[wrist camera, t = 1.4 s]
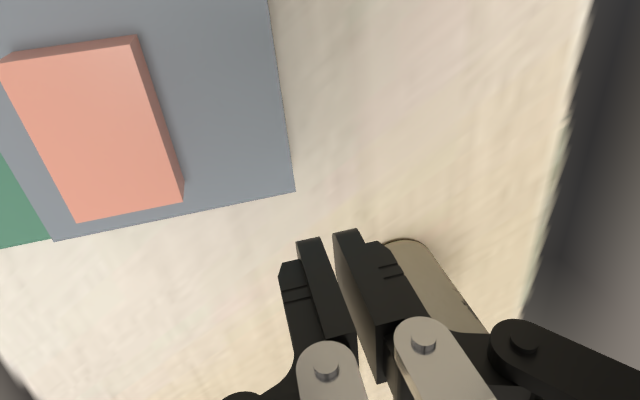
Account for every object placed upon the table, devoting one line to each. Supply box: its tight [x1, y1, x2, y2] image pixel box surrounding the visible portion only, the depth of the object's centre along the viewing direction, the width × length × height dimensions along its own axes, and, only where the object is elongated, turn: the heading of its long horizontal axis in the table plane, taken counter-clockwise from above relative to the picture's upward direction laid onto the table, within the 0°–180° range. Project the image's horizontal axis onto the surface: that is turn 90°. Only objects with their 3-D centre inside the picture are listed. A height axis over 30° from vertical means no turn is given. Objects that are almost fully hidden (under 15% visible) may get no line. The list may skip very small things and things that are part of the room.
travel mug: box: [384, 240, 489, 334], centre depth 34 cm, size 8×8×18 cm
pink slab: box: [0, 34, 185, 224], centre depth 22 cm, size 9×6×2 cm, turn 6°
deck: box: [0, 0, 296, 242], centre depth 25 cm, size 14×16×4 cm
